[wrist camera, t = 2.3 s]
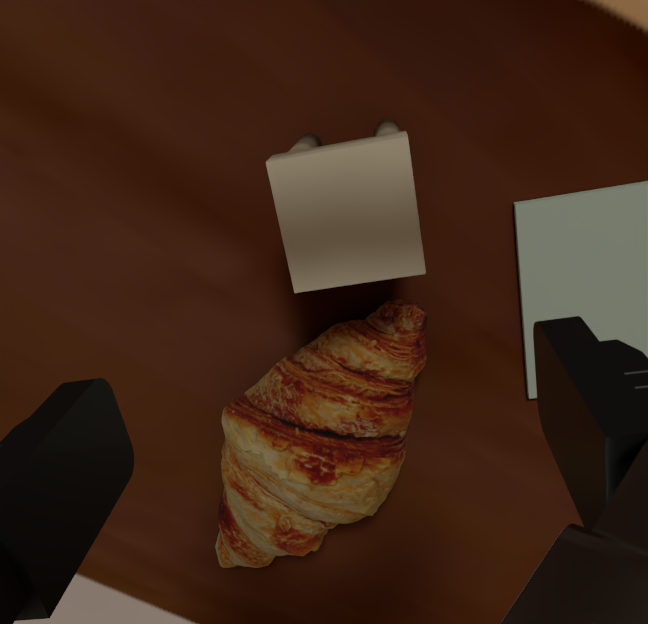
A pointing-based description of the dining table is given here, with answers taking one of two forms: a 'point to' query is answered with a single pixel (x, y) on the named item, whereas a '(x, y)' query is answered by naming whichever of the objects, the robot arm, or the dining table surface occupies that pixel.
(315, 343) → the croissant
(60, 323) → the dining table surface
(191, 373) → the dining table surface
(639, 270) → the mat
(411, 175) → the stool
